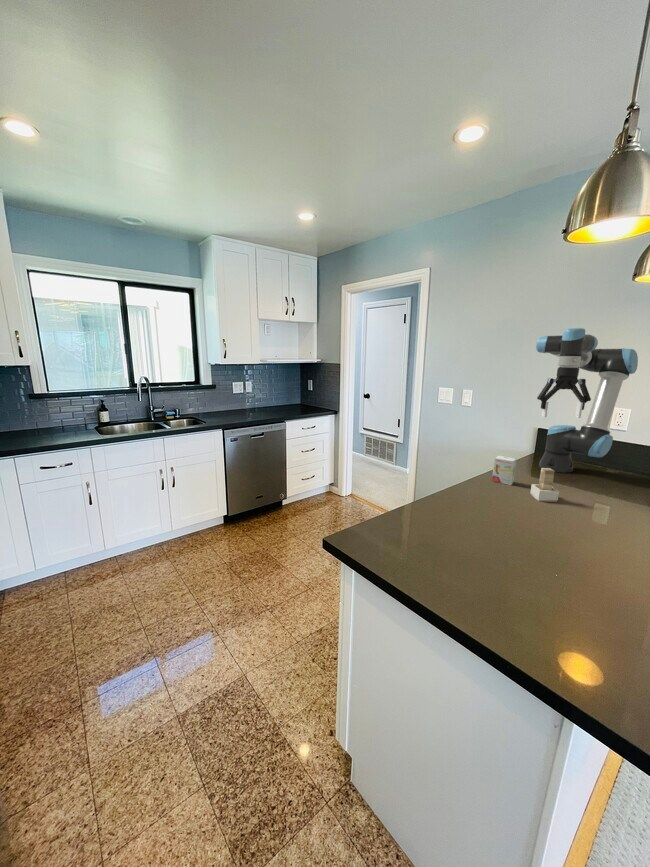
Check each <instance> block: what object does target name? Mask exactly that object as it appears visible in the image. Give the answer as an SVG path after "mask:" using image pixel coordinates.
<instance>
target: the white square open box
mask: <svg viewBox="0 0 650 867" xmlns="http://www.w3.org/2000/svg"><path fill="white" fill-rule="evenodd" d="M538 487H539V484H536V483H535V484H534V483H531V486H530V494H529V495H531V496H532V497H533V498H534V499H535V500H536V501H538V502H551V503H552V502H553V503H558V499H559V495H560V491H559V490H558V489H556V488H555V487H553V486H552V491H548V490H540V489H539V488H538Z"/></svg>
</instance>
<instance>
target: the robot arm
mask: <svg viewBox="0 0 650 867" xmlns="http://www.w3.org/2000/svg"><path fill="white" fill-rule="evenodd" d="M598 344H599V341H598V339H597V337H596V336H594V335H592V334H586V329H585V328H583V327H582V328H581V327H579V328H578V327H575V328H572V327H571V328H566V329H564V330H563V334H562V335H542V336H540V337H539V338H537V341H536V344H535V350H536V351H537V353H542V354H545V353H546V354H551V355H553V356H556V357H557V358H558V363H557V366H558V367H557V370H556V378H551V377H550V378H549V377H548V378H547V382H546V384H545V386H544V387H543V388H542V389H541V391H540V393H539V394H538V396H537V398H536V399H537V400H539V401H540V402H541V403H540V409H541V417H544V418H547V415H548V409H549V403H550V402H549V401H548V400H549V399H551V398H552V397H553V396H554V395H555V394H556V393H557V392H558V391H560V390H571V391H572V393H573V394H574V395H575V396H576V398H577V399H578V401H577V403H576V408H575V414H574V415H575V416H574V418H576V419H577V418H578V419H581V417H582V411H584V410H585V405H586V404H587V403H588V402H591V400H592V399H591V396H590V393H589V389H588V386H587V384H586V378H579V379H578V377H579V372H580V370H584V371H587V372H591V373H598V376H599V377H600V381H599V384H598V387H597V390H596V393H595V396H594V399H593V402H592V403H591V404H592V405H591V408H590V411H589V413H588V414H589V415H588V418H587V420H586V423H584V424H583V425H581V427H580V429H577V427H576V426H575V425H567V424H566V425H565V424H564V425H552V426H550V427H548V430H547V434H546V442H545V449H544V450H545V451H544V453H543V455H542V457H541V458H540V461H539V463H538V467H539V468H551V469H552V470H554V471H555V472H554V473H563V474H564V473H565V474H566V473H572V472H573V471H574V464H573V460H572V453H573V454H574V453H575V454H580V455H584V456H588V457H593V458H603V457H605V455H607V454H608V452H609V451H610V450H611V447H612V445H613V441H614V438H613V435H611V431H610V430H609V428H608V427H609V424H610V421H611V418H612V415H613V412H614V410H615V406H616V403H617V400H618V397H619V394H620V391H621V387H622V385H623V382H624V381H625V380H628V379H629V376H630V375H632V374H635V373H636V371H637V370H638V363H639V357H638V352H637V351H636V350H635V349H633V348H625V347H624V348H597V347H598ZM554 384H555V385H554ZM577 384H578V386H579V387H577ZM553 385H554V386H553ZM552 386H553V387H552ZM551 387H552V388H551ZM578 388H580V390H579V389H578Z"/></svg>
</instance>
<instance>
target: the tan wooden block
mask: <svg viewBox="0 0 650 867" xmlns="http://www.w3.org/2000/svg"><path fill="white" fill-rule="evenodd" d="M540 468H541V467H540ZM555 473H556V472H555V471H554V470H552V469H551V468H541V469H540V475H539V482H538V485H539V487H538V488H539V489H540V490H548V491H552V487H553V484H554V479H555V478H554V477H555Z"/></svg>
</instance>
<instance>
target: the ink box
mask: <svg viewBox="0 0 650 867" xmlns="http://www.w3.org/2000/svg"><path fill="white" fill-rule="evenodd" d="M516 466H517V459H516V458H514V457H508V456H504V455H497V456H495V457H494V462H493V470H492V476H491V478H492V479H491V482H493V481H494V482H493V483H499V484H503V485H508V486H512V485H513V483H514V480H515V473H516Z"/></svg>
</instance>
